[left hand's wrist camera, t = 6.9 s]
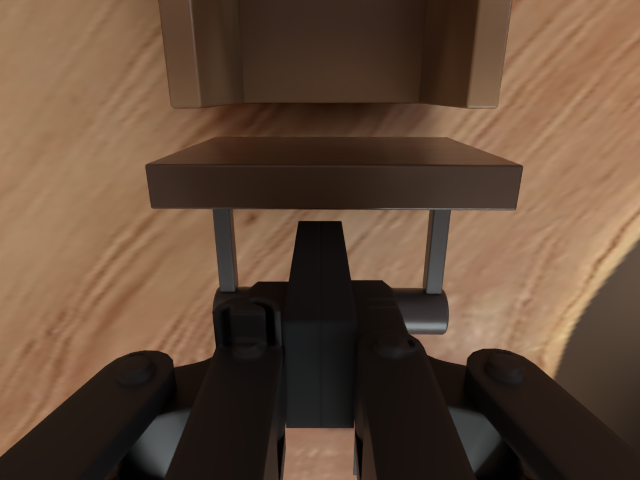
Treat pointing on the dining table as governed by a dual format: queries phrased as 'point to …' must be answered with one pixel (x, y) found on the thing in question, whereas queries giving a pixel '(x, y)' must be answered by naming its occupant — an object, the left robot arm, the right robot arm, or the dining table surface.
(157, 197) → the drawer
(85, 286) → the dining table surface
